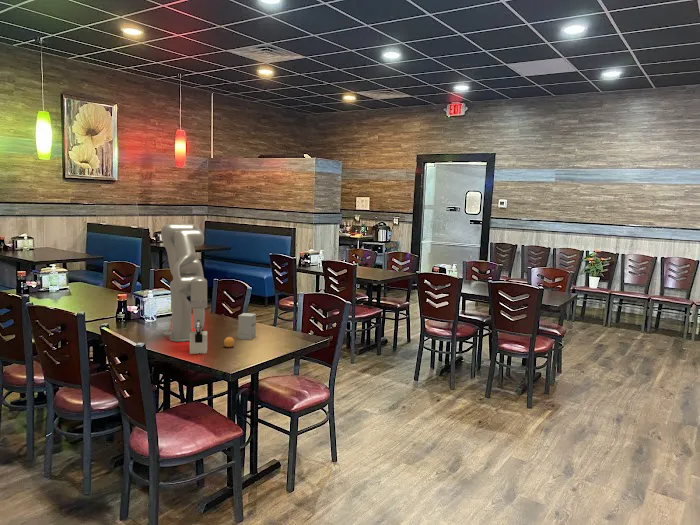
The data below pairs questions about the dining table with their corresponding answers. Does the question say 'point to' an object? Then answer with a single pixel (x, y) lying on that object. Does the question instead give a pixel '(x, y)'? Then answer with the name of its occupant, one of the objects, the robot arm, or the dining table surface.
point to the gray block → (198, 347)
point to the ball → (229, 342)
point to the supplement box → (246, 326)
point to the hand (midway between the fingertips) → (199, 340)
